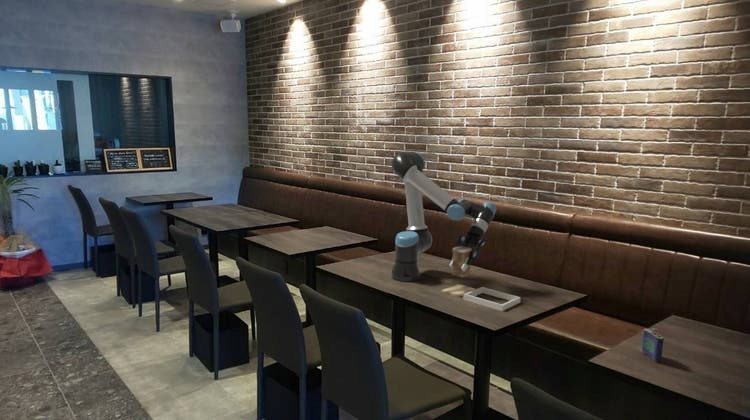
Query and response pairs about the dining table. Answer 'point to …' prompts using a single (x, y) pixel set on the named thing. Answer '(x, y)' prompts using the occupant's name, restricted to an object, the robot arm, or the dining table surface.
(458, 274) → the canister
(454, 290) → the board
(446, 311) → the dining table surface
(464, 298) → the white rectangular frame
